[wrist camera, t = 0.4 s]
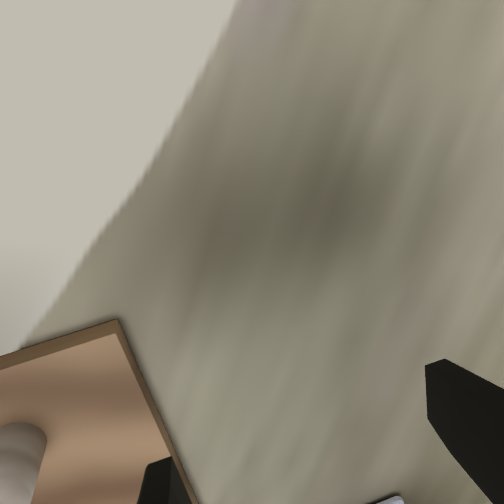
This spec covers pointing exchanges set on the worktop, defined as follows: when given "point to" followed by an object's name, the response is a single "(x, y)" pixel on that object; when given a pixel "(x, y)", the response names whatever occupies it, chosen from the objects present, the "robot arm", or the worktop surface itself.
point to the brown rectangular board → (78, 422)
